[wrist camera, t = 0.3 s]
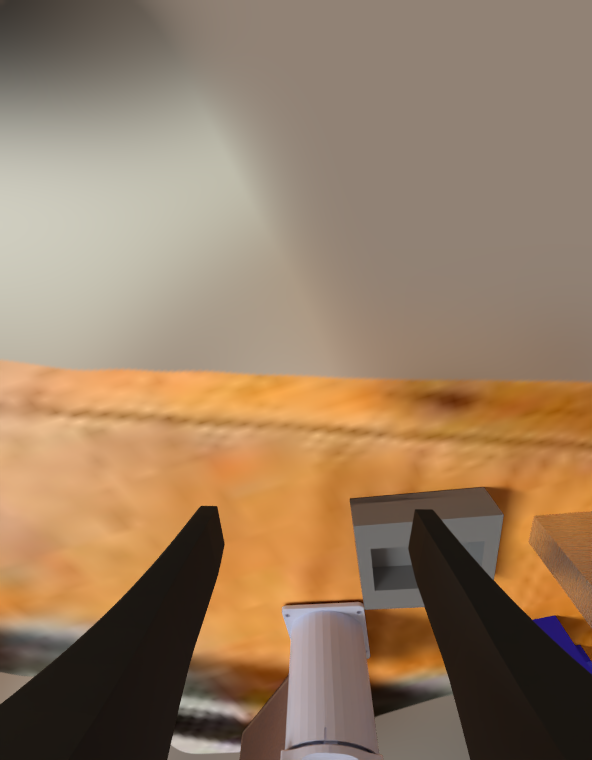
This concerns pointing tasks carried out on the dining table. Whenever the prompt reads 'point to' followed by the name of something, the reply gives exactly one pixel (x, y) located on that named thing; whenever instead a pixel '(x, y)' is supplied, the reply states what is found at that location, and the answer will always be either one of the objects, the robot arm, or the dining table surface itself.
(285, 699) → the letter holder
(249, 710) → the dining table surface
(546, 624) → the blue concave cradle block
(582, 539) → the long block
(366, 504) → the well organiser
